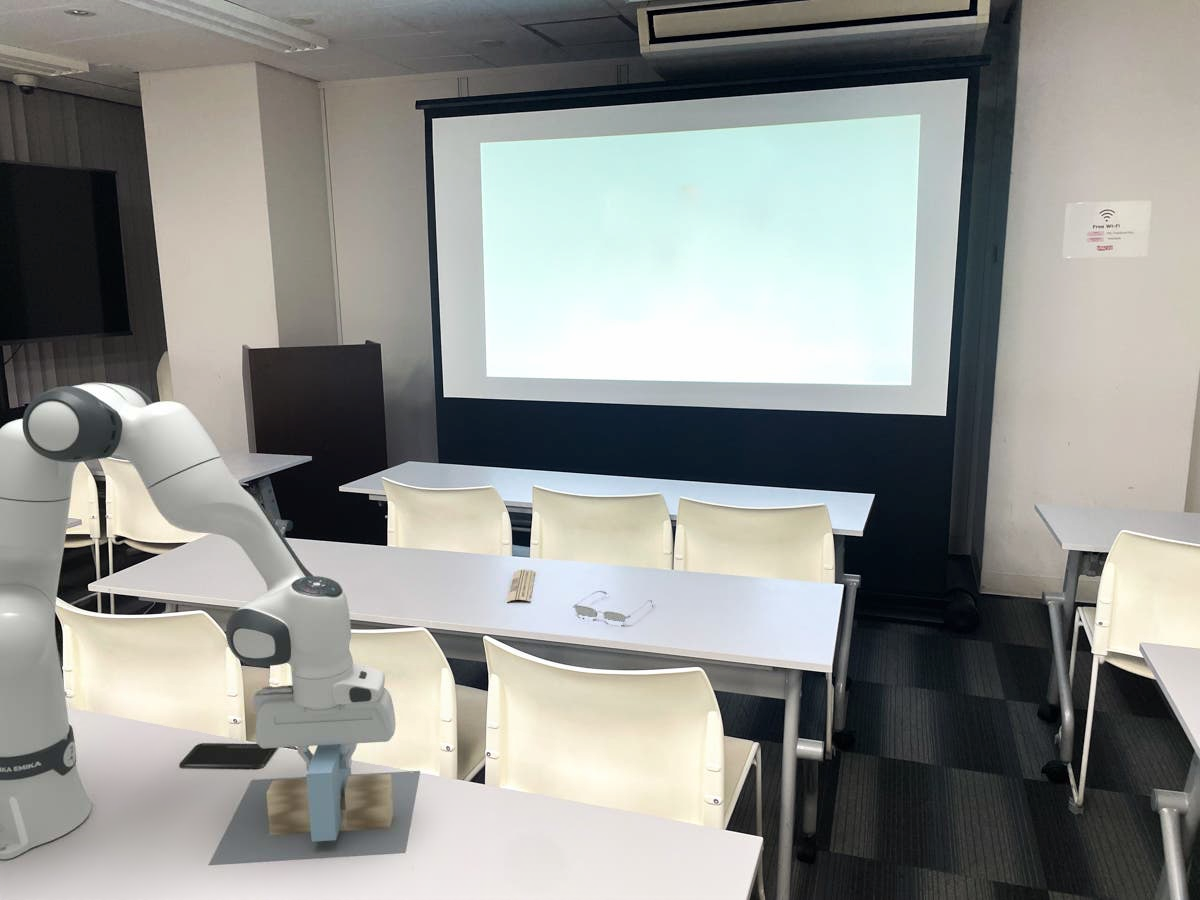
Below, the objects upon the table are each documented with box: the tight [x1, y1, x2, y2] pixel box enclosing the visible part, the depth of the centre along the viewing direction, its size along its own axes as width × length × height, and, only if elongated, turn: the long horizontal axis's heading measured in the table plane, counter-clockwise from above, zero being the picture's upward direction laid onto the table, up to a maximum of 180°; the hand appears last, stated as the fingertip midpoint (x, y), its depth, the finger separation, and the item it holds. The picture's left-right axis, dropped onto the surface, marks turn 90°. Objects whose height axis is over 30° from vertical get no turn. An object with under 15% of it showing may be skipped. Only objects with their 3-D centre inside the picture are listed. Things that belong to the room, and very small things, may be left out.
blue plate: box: [305, 744, 352, 842], centre depth 136 cm, size 4×14×11 cm, turn 6°
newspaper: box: [506, 569, 536, 604], centre depth 242 cm, size 24×7×2 cm, turn 1°
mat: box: [208, 770, 421, 866], centre depth 140 cm, size 28×22×1 cm
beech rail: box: [266, 774, 393, 835], centre depth 137 cm, size 18×4×7 cm, turn 96°
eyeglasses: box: [572, 590, 653, 623], centre depth 225 cm, size 15×18×4 cm
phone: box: [178, 742, 278, 770], centre depth 157 cm, size 8×1×15 cm
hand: (329, 767), depth 136 cm, fingers closed on blue plate, 3 cm apart
